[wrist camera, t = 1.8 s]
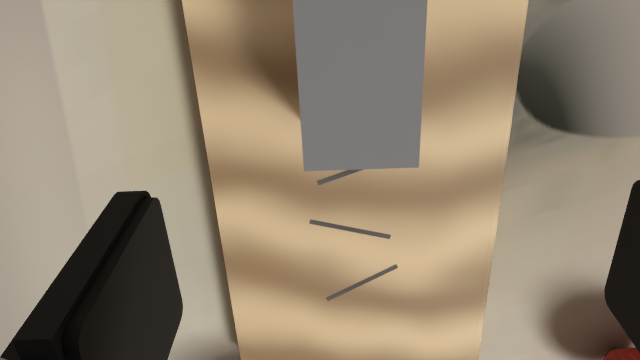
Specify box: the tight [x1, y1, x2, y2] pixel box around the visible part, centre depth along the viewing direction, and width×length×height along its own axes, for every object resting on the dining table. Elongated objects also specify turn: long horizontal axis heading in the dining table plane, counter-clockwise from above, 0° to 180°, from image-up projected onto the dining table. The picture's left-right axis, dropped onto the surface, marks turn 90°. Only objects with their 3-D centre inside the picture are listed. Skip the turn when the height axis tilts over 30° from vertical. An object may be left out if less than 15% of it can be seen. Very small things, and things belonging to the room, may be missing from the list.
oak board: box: [182, 0, 528, 360], centre depth 30 cm, size 28×16×2 cm, turn 3°
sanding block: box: [292, 0, 428, 171], centre depth 23 cm, size 9×5×5 cm, turn 3°
